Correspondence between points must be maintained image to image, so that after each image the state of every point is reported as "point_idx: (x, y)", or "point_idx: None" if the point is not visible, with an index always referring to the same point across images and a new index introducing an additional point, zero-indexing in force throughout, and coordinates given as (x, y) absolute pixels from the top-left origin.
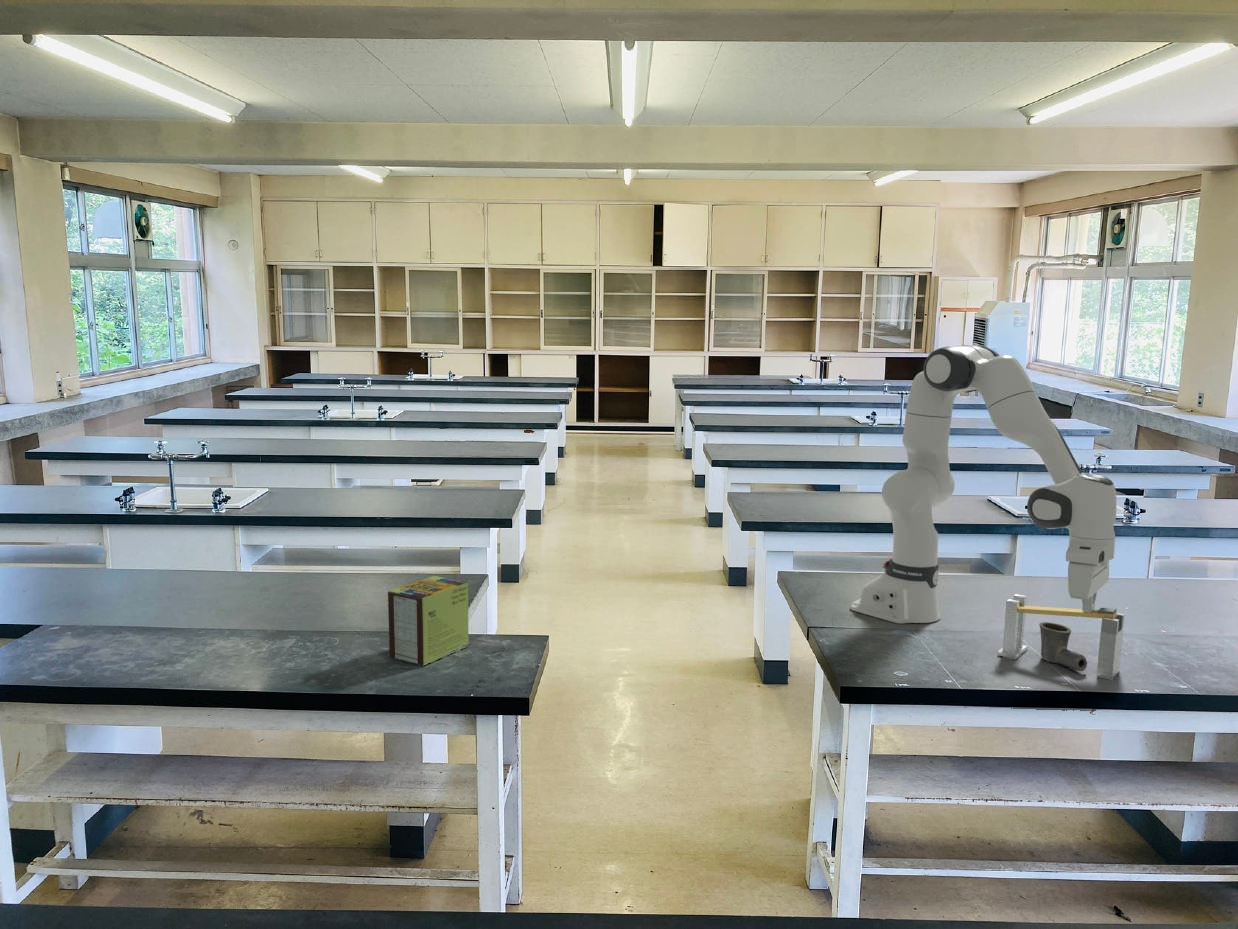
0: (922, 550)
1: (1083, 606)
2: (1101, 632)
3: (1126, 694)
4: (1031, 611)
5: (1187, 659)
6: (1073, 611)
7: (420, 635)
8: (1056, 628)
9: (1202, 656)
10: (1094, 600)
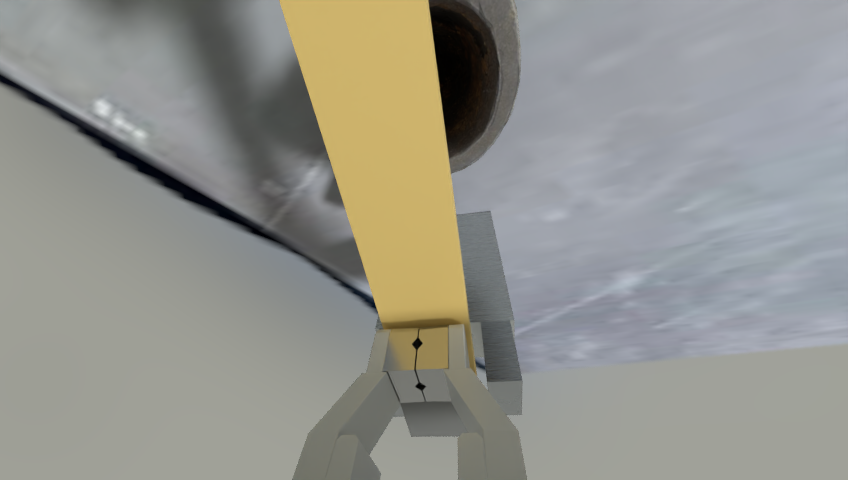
0: None
1: (372, 358)
2: (376, 329)
3: (348, 291)
4: None
5: (712, 309)
6: (377, 274)
7: None
8: (488, 72)
9: (760, 322)
10: (460, 417)
